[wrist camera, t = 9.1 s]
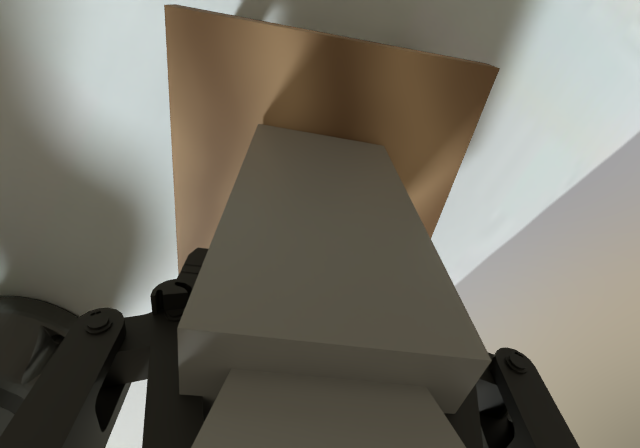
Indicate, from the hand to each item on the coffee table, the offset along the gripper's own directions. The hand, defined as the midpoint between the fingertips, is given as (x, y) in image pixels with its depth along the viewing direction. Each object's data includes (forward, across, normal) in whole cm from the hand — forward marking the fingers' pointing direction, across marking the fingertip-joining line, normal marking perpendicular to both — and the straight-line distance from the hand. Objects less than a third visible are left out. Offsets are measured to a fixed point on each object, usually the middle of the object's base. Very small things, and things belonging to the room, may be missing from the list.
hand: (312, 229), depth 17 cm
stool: (+14, 0, 0) cm, 14 cm away
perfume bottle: (+4, 0, 0) cm, 4 cm away
